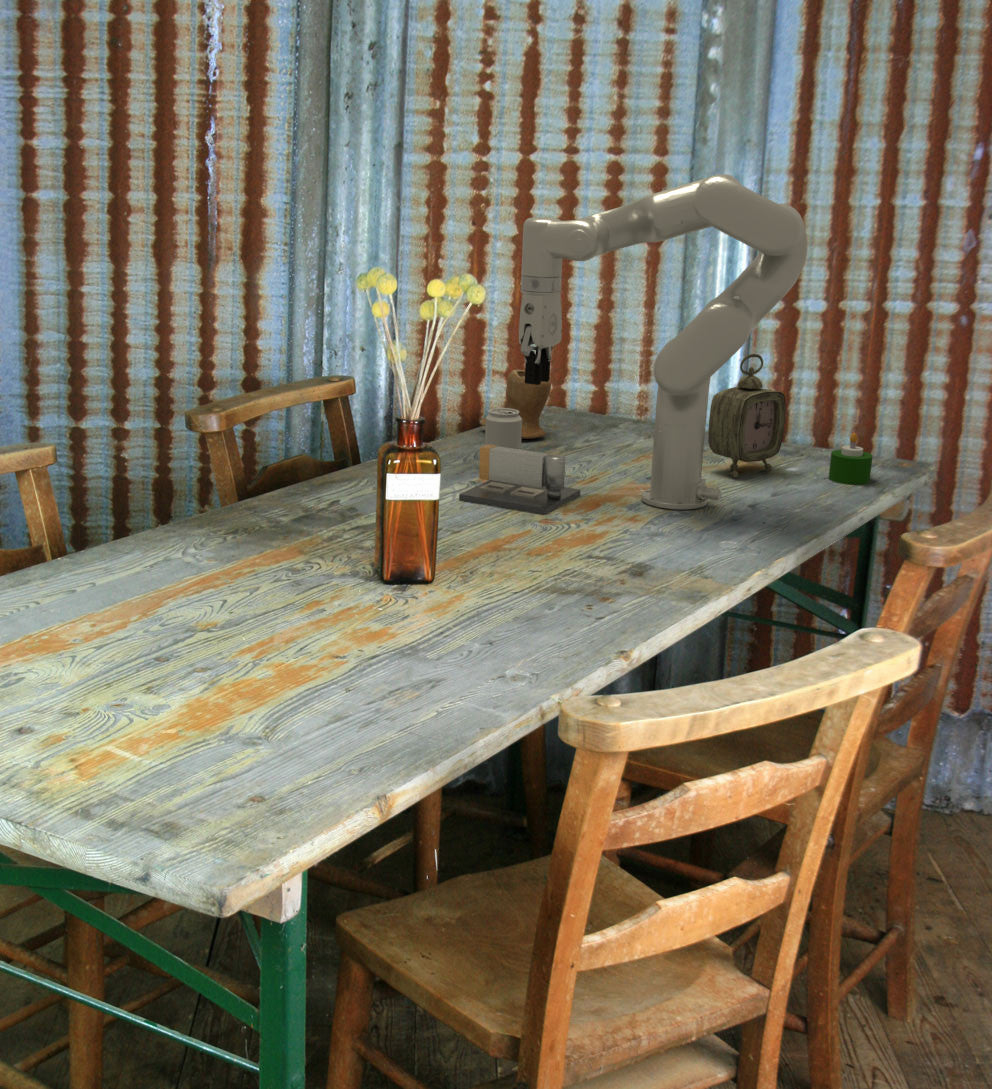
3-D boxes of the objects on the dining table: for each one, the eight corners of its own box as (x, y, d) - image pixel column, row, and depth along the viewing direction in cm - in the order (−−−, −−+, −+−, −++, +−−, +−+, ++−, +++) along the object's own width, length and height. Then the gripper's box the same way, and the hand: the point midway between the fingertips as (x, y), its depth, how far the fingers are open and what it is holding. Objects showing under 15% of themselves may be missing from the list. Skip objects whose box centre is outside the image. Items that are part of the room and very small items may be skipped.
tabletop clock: (734, 481, 271) (745, 359, 264) (701, 472, 278) (710, 353, 270) (780, 472, 280) (791, 354, 273) (746, 463, 287) (757, 347, 279)
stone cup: (558, 439, 304) (562, 374, 299) (516, 444, 297) (518, 378, 293) (520, 426, 316) (523, 363, 311) (478, 431, 309) (480, 367, 305)
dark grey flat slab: (580, 495, 257) (581, 481, 256) (545, 514, 243) (546, 500, 243) (497, 482, 265) (497, 468, 264) (459, 500, 251) (459, 485, 250)
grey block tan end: (567, 487, 251) (568, 455, 249) (559, 491, 248) (560, 459, 246) (487, 475, 258) (488, 443, 256) (478, 479, 255) (479, 447, 253)
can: (520, 471, 273) (522, 414, 270) (483, 470, 274) (485, 413, 270) (520, 463, 281) (522, 407, 277) (484, 461, 281) (486, 405, 277)
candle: (835, 473, 281) (840, 426, 278) (874, 479, 277) (879, 432, 274) (823, 480, 274) (828, 433, 272) (862, 487, 270) (868, 439, 268)
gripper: (540, 290, 241) (536, 391, 246) (576, 283, 254) (572, 378, 260) (503, 287, 244) (500, 386, 249) (541, 280, 258) (537, 374, 263)
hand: (537, 381), depth 255 cm, fingers open, 3 cm apart
